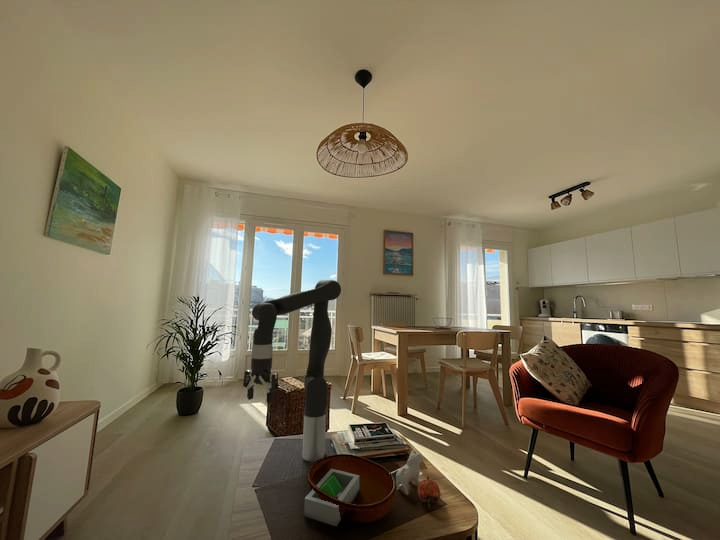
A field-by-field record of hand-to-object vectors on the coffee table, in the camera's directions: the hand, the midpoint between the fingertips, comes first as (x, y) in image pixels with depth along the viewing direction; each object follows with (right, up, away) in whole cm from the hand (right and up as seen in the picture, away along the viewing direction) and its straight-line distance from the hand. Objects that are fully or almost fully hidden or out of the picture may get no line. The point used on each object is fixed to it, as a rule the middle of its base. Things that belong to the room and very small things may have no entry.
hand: (259, 400), depth 111 cm
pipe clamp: (+29, -25, -13) cm, 41 cm away
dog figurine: (+55, -29, -4) cm, 62 cm away
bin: (+29, -27, -13) cm, 42 cm away
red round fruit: (+60, -28, -13) cm, 68 cm away
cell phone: (+53, -30, +2) cm, 61 cm away
